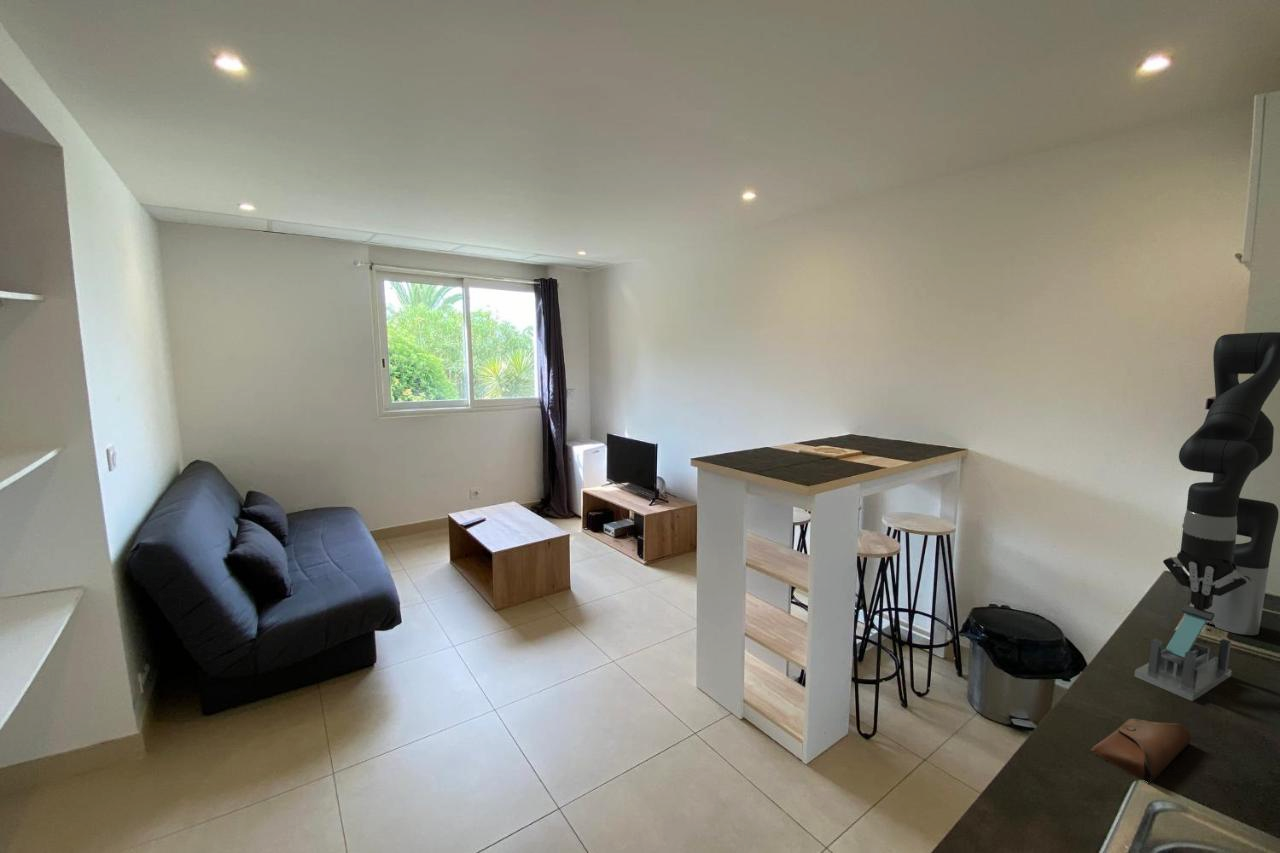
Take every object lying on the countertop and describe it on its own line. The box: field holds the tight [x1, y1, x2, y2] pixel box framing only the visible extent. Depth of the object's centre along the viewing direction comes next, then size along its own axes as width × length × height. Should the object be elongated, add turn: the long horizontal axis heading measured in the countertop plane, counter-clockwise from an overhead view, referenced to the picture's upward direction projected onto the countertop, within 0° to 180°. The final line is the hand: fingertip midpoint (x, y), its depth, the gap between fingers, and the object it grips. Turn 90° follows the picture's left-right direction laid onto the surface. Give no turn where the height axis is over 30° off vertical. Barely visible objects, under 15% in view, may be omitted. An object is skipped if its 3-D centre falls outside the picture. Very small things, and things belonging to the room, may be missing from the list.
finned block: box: [1134, 638, 1232, 702], centre depth 109 cm, size 18×9×8 cm, turn 115°
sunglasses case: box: [1090, 718, 1192, 784], centre depth 90 cm, size 18×7×7 cm
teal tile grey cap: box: [1161, 604, 1214, 665], centre depth 108 cm, size 14×4×2 cm
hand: (1200, 608), depth 110 cm, fingers closed
